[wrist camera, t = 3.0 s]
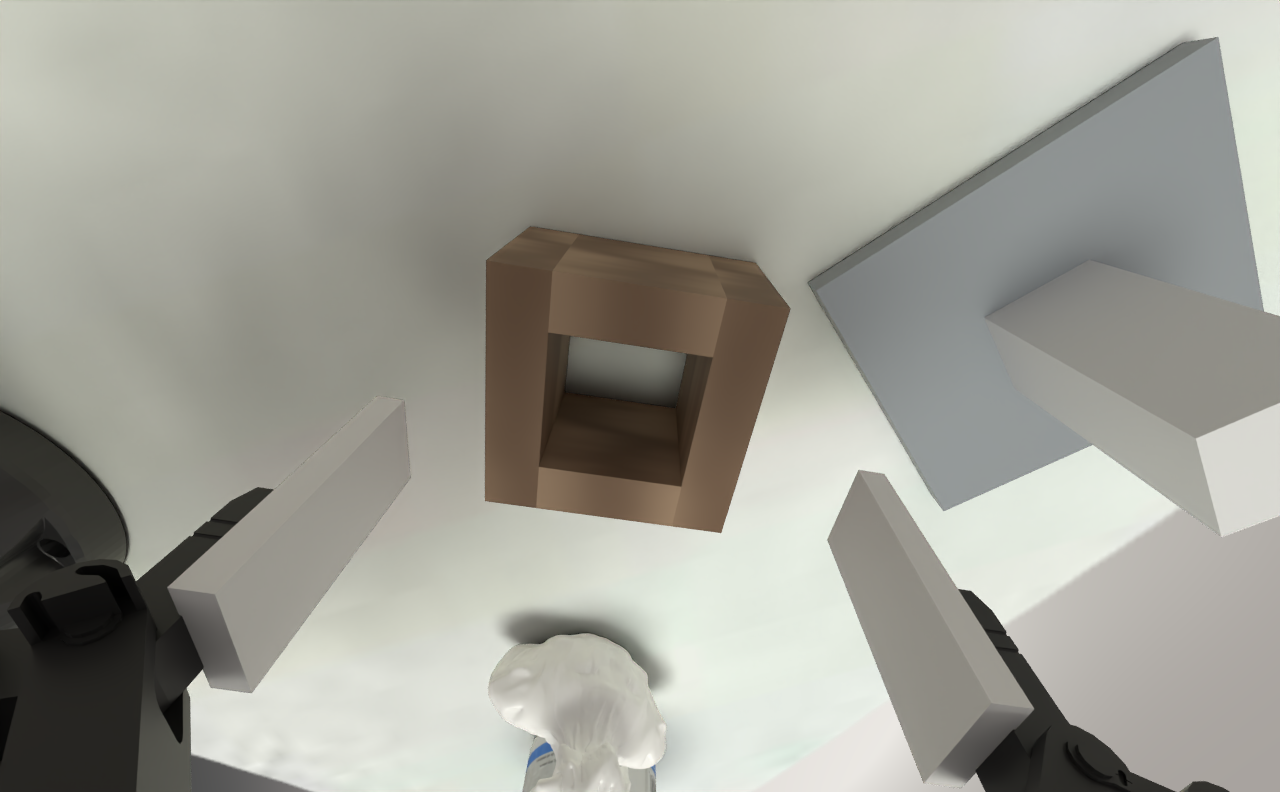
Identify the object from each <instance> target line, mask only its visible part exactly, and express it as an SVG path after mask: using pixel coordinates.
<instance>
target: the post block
mask: <svg viewBox="0 0 1280 792" xmlns="http://www.w3.org/2000/svg"><path fill="white" fill-rule="evenodd" d="M808 284H809V286H810V287H811V289H812V291H813V292H814V294H815V296H816V298H817V299H818V301H819V303H820V304H821V306H822V308H823V310H824V311H825V313H826V315H827V316H828V318H829V320H830V322H831V323H832V325H833V327H834V328H835V330H836V332H837V334H838V335H839V337H840V339H841V340H842V342H843V344H844V346H845V347H846V349H847V351H848V352H849V354H850V356H851V358H852V359H853V361H854V363H855V364H856V366H857V368H858V370H859V371H860V373H861V375H862V376H863V378H864V380H865V382H866V383H867V385H868V387H869V388H870V390H871V392H872V394H873V395H874V397H875V399H876V400H877V402H878V404H879V406H880V407H881V409H882V411H883V413H884V414H885V416H886V418H887V419H888V421H889V423H890V425H891V426H892V428H893V430H894V431H895V433H896V435H897V437H898V438H899V440H900V442H901V443H902V445H903V447H904V449H905V450H906V452H907V454H908V455H909V457H910V459H911V461H912V462H913V464H914V466H915V467H916V469H917V471H918V473H919V474H920V476H921V478H922V479H923V481H924V483H925V485H926V486H927V488H928V490H929V491H930V493H931V495H932V496H933V498H934V499H935V500H936V502H937V503H938V504H939V506H940V507H941V508H942V510H943V511H945V510H948V509H950V508H952V507H954V506H957V505H959V504H961V503H963V502H966V501H968V500H970V499H972V498H974V497H977V496H979V495H981V494H983V493H986V492H988V491H990V490H992V489H995V488H997V487H999V486H1001V485H1004V484H1006V483H1008V482H1010V481H1012V480H1015V479H1017V478H1019V477H1021V476H1024V475H1026V474H1028V473H1030V472H1033V471H1035V470H1037V469H1039V468H1042V467H1044V466H1046V465H1048V464H1051V463H1053V462H1055V461H1057V460H1059V459H1062V458H1064V457H1066V456H1068V455H1071V454H1073V453H1075V452H1077V451H1080V450H1082V449H1084V448H1086V447H1089V446H1091V445H1094V446H1095V447H1097V448H1098V449H1100V450H1101V451H1102V452H1104V453H1105V454H1106V455H1108V456H1109V457H1111V458H1112V459H1113V460H1115V461H1116V462H1118V463H1119V464H1120V465H1122V466H1123V467H1125V468H1126V469H1127V470H1129V471H1130V472H1132V473H1133V474H1134V475H1136V476H1137V477H1138V478H1140V479H1141V480H1143V481H1144V482H1145V483H1147V484H1148V485H1150V486H1151V487H1152V488H1154V489H1155V490H1157V491H1158V492H1159V493H1161V494H1162V495H1164V496H1165V497H1166V498H1168V499H1169V500H1171V501H1172V502H1173V503H1175V504H1176V505H1177V506H1179V507H1180V508H1182V509H1183V510H1184V511H1186V512H1187V513H1189V514H1190V515H1191V516H1193V517H1194V518H1196V519H1197V520H1199V521H1200V522H1201V523H1203V524H1204V525H1205V526H1207V527H1208V528H1210V529H1211V530H1212V531H1214V532H1215V533H1216V534H1218V535H1219V536H1221V537H1224V536H1226V535H1229V534H1232V533H1235V532H1237V531H1240V530H1243V529H1245V528H1248V527H1251V526H1254V525H1256V524H1259V523H1262V522H1264V521H1267V520H1270V519H1273V518H1275V517H1278V516H1280V316H1277V315H1273V314H1270V313H1267V312H1264V309H1263V303H1262V297H1261V291H1260V285H1259V279H1258V273H1257V267H1256V261H1255V255H1254V249H1253V243H1252V237H1251V231H1250V225H1249V219H1248V213H1247V207H1246V201H1245V195H1244V189H1243V183H1242V176H1241V170H1240V164H1239V158H1238V152H1237V146H1236V140H1235V134H1234V128H1233V122H1232V116H1231V110H1230V104H1229V98H1228V92H1227V86H1226V80H1225V74H1224V68H1223V62H1222V56H1221V50H1220V44H1219V38H1218V37H1215V38H1209V39H1203V40H1197V41H1191V42H1185V43H1182V44H1180V45H1179V46H1177V47H1176V48H1174V49H1172V50H1171V51H1169V52H1168V53H1166V54H1165V55H1163V56H1162V57H1160V58H1158V59H1157V60H1155V61H1154V62H1152V63H1151V64H1149V65H1147V66H1146V67H1144V68H1143V69H1141V70H1140V71H1138V72H1137V73H1135V74H1133V75H1132V76H1130V77H1129V78H1127V79H1126V80H1124V81H1122V82H1121V83H1119V84H1118V85H1116V86H1115V87H1113V88H1112V89H1110V90H1108V91H1107V92H1105V93H1104V94H1102V95H1101V96H1099V97H1097V98H1096V99H1094V100H1093V101H1091V102H1090V103H1088V104H1086V105H1085V106H1083V107H1082V108H1080V109H1079V110H1077V111H1076V112H1074V113H1072V114H1071V115H1069V116H1068V117H1066V118H1065V119H1063V120H1061V121H1060V122H1058V123H1057V124H1055V125H1054V126H1052V127H1051V128H1049V129H1047V130H1046V131H1044V132H1043V133H1041V134H1040V135H1038V136H1036V137H1035V138H1033V139H1032V140H1030V141H1029V142H1027V143H1025V144H1024V145H1022V146H1021V147H1019V148H1018V149H1016V150H1015V151H1013V152H1011V153H1010V154H1008V155H1007V156H1005V157H1004V158H1002V159H1000V160H999V161H997V162H996V163H994V164H993V165H991V166H990V167H988V168H986V169H985V170H983V171H982V172H980V173H979V174H977V175H975V176H974V177H972V178H971V179H969V180H968V181H966V182H964V183H963V184H961V185H960V186H958V187H957V188H955V189H954V190H952V191H950V192H949V193H947V194H946V195H944V196H943V197H941V198H939V199H938V200H936V201H935V202H933V203H932V204H930V205H929V206H927V207H925V208H924V209H922V210H921V211H919V212H918V213H916V214H914V215H913V216H911V217H910V218H908V219H907V220H905V221H903V222H902V223H900V224H899V225H897V226H896V227H894V228H893V229H891V230H889V231H888V232H886V233H885V234H883V235H882V236H880V237H878V238H877V239H875V240H874V241H872V242H871V243H869V244H868V245H866V246H864V247H863V248H861V249H860V250H858V251H857V252H855V253H853V254H852V255H850V256H849V257H847V258H846V259H844V260H842V261H841V262H839V263H838V264H836V265H835V266H833V267H832V268H830V269H828V270H827V271H825V272H824V273H822V274H821V275H819V276H817V277H816V278H814V279H813V280H811V281H810V282H808Z"/></svg>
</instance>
